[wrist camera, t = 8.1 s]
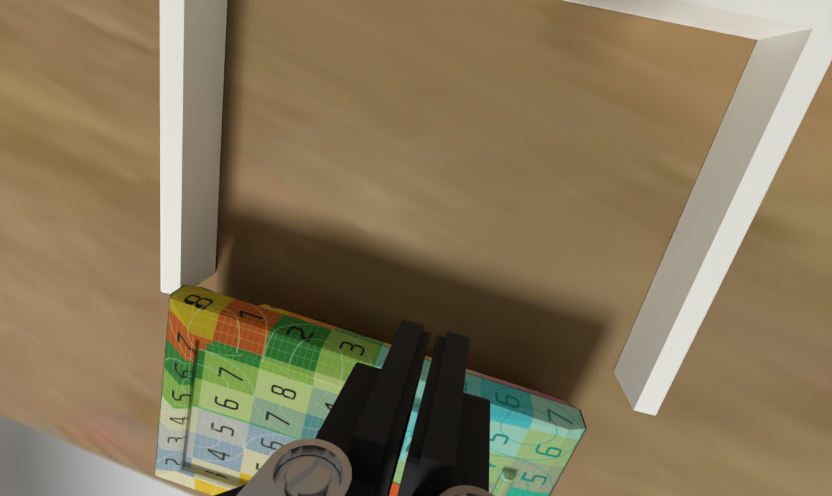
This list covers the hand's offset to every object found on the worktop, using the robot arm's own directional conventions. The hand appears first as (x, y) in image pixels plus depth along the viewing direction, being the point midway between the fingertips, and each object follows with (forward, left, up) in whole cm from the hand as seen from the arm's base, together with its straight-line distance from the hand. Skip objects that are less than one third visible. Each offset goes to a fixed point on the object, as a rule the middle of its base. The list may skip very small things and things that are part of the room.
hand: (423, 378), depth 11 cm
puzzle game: (+2, +11, -12) cm, 16 cm away
